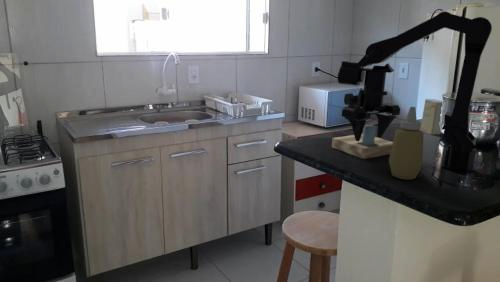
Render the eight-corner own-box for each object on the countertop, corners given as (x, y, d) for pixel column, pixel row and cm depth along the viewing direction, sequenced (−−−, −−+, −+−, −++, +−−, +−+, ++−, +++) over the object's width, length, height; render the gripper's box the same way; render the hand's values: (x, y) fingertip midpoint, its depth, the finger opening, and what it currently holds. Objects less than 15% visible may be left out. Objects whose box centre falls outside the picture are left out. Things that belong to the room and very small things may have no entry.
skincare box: (419, 131, 157) (424, 99, 154) (429, 130, 158) (434, 98, 155) (431, 135, 151) (436, 102, 148) (441, 134, 152) (446, 101, 149)
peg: (375, 152, 125) (378, 126, 123) (367, 154, 123) (370, 128, 121) (366, 149, 128) (369, 124, 125) (358, 151, 126) (361, 125, 124)
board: (396, 152, 127) (397, 143, 126) (363, 159, 120) (364, 149, 119) (363, 142, 138) (364, 133, 137) (331, 147, 131) (332, 138, 130)
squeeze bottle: (381, 175, 106) (389, 106, 102) (396, 169, 112) (404, 103, 107) (411, 184, 101) (422, 111, 96) (425, 177, 106) (436, 107, 102)
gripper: (375, 82, 131) (370, 130, 135) (330, 85, 122) (326, 136, 126) (404, 87, 122) (397, 138, 126) (358, 90, 113) (353, 145, 117)
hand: (368, 139), depth 124 cm, fingers open, 9 cm apart
